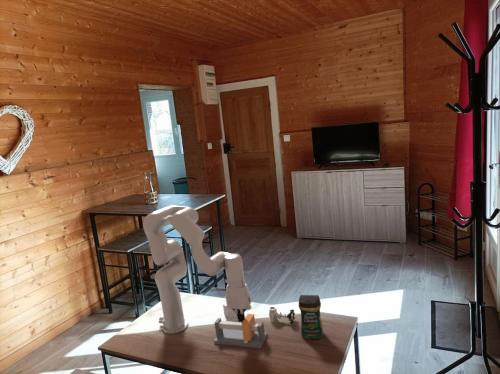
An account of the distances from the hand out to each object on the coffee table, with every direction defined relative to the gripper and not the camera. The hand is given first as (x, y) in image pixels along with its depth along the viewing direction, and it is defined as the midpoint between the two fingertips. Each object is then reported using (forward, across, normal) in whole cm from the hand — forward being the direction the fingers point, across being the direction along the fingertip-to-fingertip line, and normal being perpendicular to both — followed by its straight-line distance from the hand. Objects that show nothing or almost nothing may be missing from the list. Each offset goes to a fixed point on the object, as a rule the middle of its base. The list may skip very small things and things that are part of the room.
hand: (241, 320), depth 168 cm
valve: (+10, +13, +17) cm, 24 cm away
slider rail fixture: (+9, -2, 0) cm, 9 cm away
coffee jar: (+10, +30, +8) cm, 32 cm away
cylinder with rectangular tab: (+9, -15, +22) cm, 28 cm away
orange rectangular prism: (+7, +3, 0) cm, 7 cm away
